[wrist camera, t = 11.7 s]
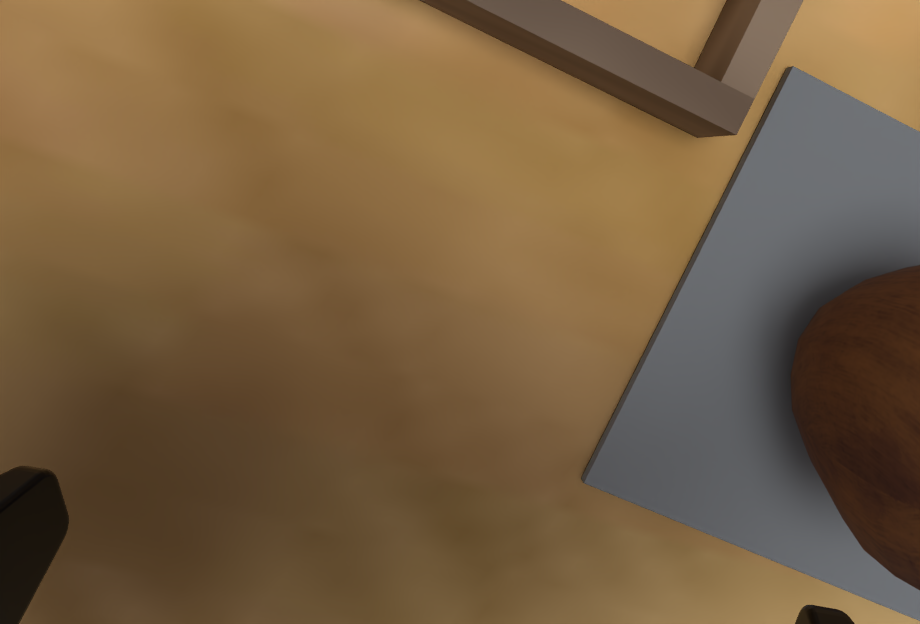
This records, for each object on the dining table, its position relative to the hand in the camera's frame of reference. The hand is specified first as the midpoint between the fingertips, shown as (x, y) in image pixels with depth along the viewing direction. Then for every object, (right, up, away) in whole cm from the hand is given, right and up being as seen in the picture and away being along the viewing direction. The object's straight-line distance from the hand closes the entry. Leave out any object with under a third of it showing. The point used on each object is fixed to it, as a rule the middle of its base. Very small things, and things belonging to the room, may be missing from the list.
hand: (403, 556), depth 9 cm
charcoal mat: (+11, +1, +11) cm, 15 cm away
